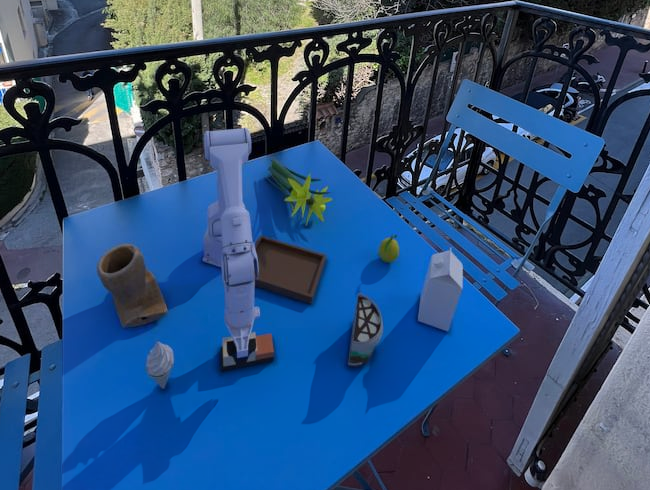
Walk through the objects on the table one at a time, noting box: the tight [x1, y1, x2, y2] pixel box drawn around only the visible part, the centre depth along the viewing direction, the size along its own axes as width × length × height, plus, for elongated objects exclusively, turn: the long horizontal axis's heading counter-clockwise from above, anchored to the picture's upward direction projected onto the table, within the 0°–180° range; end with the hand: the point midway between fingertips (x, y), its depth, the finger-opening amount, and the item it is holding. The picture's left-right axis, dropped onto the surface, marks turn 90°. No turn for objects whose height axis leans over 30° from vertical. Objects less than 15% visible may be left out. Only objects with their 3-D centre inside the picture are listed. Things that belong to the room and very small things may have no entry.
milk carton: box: [417, 247, 464, 332], centre depth 95 cm, size 7×7×19 cm
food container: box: [347, 292, 384, 368], centre depth 88 cm, size 12×6×10 cm, turn 168°
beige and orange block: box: [219, 331, 275, 372], centre depth 86 cm, size 11×4×4 cm, turn 103°
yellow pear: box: [378, 232, 400, 263], centre depth 110 cm, size 7×6×10 cm
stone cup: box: [96, 243, 168, 328], centre depth 92 cm, size 15×12×15 cm
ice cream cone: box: [145, 340, 175, 390], centre depth 77 cm, size 5×5×15 cm
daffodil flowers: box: [264, 158, 333, 227], centre depth 127 cm, size 17×15×35 cm
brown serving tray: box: [254, 234, 327, 305], centre depth 107 cm, size 20×14×2 cm
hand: (239, 343), depth 84 cm, fingers open, 7 cm apart
